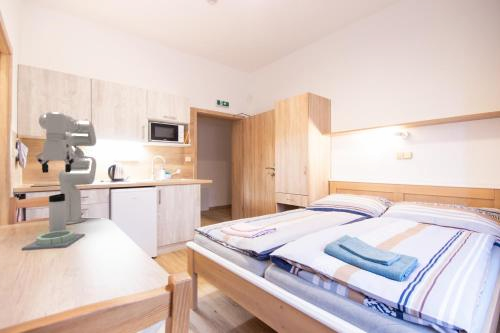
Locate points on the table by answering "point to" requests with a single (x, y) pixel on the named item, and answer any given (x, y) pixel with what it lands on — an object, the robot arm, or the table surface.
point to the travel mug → (57, 213)
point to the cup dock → (62, 245)
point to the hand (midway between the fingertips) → (56, 172)
